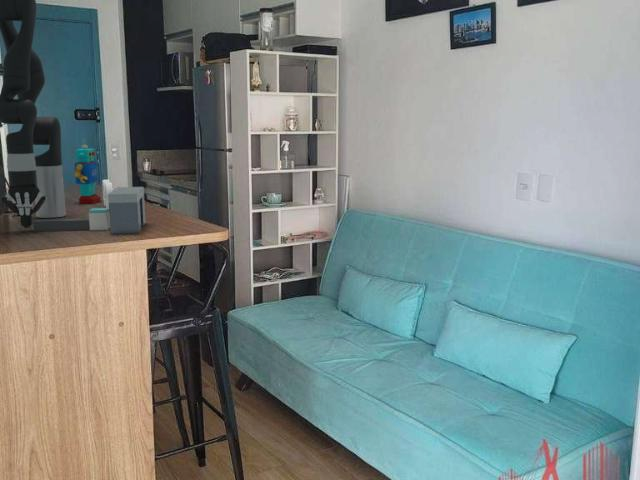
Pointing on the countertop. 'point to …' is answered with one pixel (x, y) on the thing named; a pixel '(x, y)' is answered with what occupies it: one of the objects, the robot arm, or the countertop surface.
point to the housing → (126, 210)
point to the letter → (106, 191)
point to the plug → (76, 222)
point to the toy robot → (86, 175)
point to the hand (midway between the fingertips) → (27, 227)
